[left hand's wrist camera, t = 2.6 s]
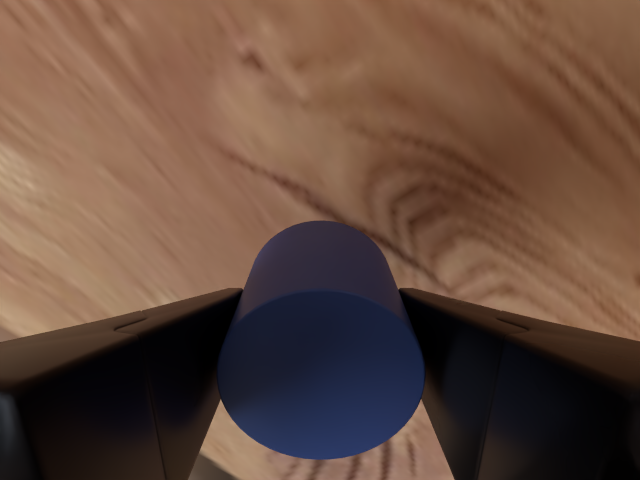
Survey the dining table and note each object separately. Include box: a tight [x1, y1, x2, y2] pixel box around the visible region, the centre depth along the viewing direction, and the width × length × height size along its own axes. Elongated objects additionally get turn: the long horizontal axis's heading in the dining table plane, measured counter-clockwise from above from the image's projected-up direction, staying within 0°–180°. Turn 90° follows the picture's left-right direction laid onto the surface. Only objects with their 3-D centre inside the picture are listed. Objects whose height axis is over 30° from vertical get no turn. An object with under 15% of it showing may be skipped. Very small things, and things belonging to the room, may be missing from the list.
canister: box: [216, 221, 426, 460], centre depth 10 cm, size 4×4×4 cm
